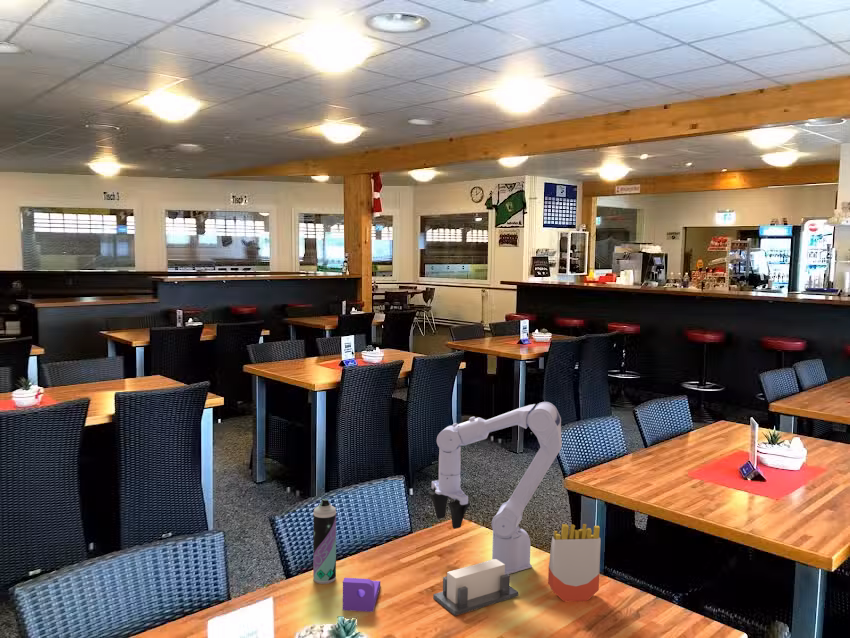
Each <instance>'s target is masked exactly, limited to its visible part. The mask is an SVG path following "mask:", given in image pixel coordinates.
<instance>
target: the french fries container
mask: <svg viewBox="0 0 850 638" xmlns="http://www.w3.org/2000/svg"><path fill="white" fill-rule="evenodd" d="M575 528H576V525H575V524H570V526H569V525H568V523H562V524H561V529H560V530H561V533H558V531H557V530H554V532H553V535H552V536H551V544H550V551H549V552H550V553H549V561H548V575H547V576H548V578H547V579H548V580H547V583H548V585H549V587H550V589H551V590H552V592H553V593H554V594H555V595H556V596H557V597H559V598H560V599H561V600H562V601H563V602H585V601H586V602H587V601H588V600H590V599H591V598H592V596H593V597H594V595H595V594H596V593H597V592H599V590H600V587H599V586H600V568H601V567H600V566H601V564H600V563H601V562H600V561H601V542H602V541H601V539H602V538H601V537H600V532H601V530H600V529H601V528H600V526H599V525H594V526H593V532H592V528H590V527H587V523H582V528H580V529H575Z"/></svg>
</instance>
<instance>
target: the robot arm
mask: <svg viewBox="0 0 850 638" xmlns="http://www.w3.org/2000/svg"><path fill="white" fill-rule="evenodd" d="M514 426H519V427H521V428H523V429H525V430H526V429H527V428H528V427H529V429H530V430H531V431H532V433H533V434H534V435H535V437H536V438H537V441H538V444H539V449H538V450H537V452H536V454H535V455H534V458H533V459H532V461H531V462H530V464H529V465H528V468H527V469H526V470H525V472H524V474H523V475H522V477H521V479H520V480H519V483H518V484H517V485H516V487H515V489H514V491H513V492H512V493H511V496H510V497H509V499H508V500H507V501H506V502H503V503H502V504H501V505H500V506H499V508H498V510H497V513H496V514H495V515H494V516H493V517H492V520H491V528H492V553H491V555H492V556H491V557H492V558H491V559H489V560H488V561H490V560H493V559H497V560H499V561H500V562H502V563H503V564H505V574H508V575H510V574H514V573H517V572H520V571H524V570H528V569H530V568H531V569H532V567H533V564H531V544H532V543H531V539H530V536H529V534H528V532H527V531H526V530H525V529H523V528H520V526H519V524H520V522H522V519H523V512H524V510H525V508H526V507H527V505H528V504H529V502H530V500H531V498H532V497H533V495H534V493H535V492H536V491H537V489H538V487H539V485H540V484H541V482H542V480H543V478H544V477H545V476H546V474H547V472H548V471H549V469H550V468H551V466H552V464H553V463H554V461H555V460H556V458H557V456H558V454H559V453H560V451H561V449H562V446H563V443H562V442H563V440H562V438H563V437H562V417H561V415H560V413H559V411H558V409H557V407H556V405H554V404H553V403H551V402H549V401H542V402H539V403H537V404H536V403H533V404H528V405H525V406H522V407H518V408H516V409H513V410H511V411H510V410H509V411H507V412H505V413H502V414H499V415H497V416H494V417H491V418H488V419H484V418H482V417H475V416H471V417H469V418H468V420H467V421H464V422H460V423H458V422H455V423H453V424H452V425H448V426H446V427H445V428H444V429H442V430H441V431H440V432H439V433H438V434H437V437H436V444H437V447H438V449H439V452H438V453H439V455H438V479H437V480H432V481H431V489H432V490H431V491H430V492H429V493H428V496H429V497H430V500H432V503H433V506H434V507H433V508H434V512H435V516H436V519H438V520H440V519H444V518H445V517H446V514H447V513H446V511H447V505H448V507H449V512H450V515H451V526H452V529H454V530H456V529H459V528H462V524H463V520H464V516H465V514H466V512H467V511H468V509H469V507H470V505H471V502H470V501H469V496H468V495H466V494H465V492H464V491H463V489H462V488H461V466H462V465H461V461H462V459H461V458H462V455H461V449H462V447H461V446H467V445H470V444H474V443H476V442H480V441H484V440H486V439H488V436H489V434H490V433H492V432H496V431H499V430H503V429H506V428H509V427H514ZM449 497H450V498H451V499H452V500H454V501H450V502H448V499H449Z"/></svg>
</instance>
